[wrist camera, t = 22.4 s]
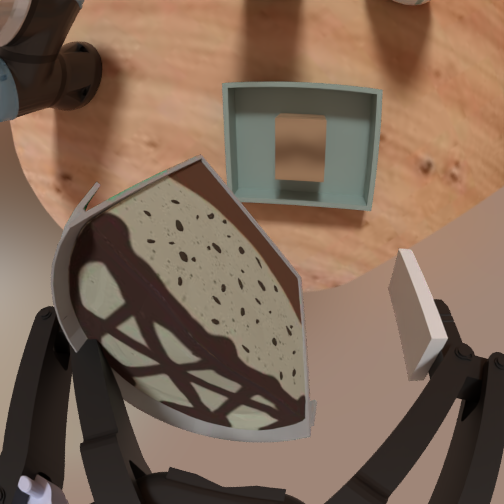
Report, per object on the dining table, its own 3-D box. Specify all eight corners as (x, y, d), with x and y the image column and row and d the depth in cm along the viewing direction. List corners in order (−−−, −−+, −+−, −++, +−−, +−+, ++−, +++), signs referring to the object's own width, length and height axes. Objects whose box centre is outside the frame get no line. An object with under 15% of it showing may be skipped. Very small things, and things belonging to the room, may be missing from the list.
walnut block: (280, 113, 45) (274, 118, 38) (324, 115, 44) (326, 120, 37) (280, 165, 50) (275, 179, 43) (322, 167, 49) (323, 182, 42)
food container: (115, 198, 17) (5, 299, 9) (183, 133, 15) (54, 210, 6) (239, 328, 21) (210, 457, 13) (313, 293, 19) (316, 440, 10)
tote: (235, 191, 54) (228, 201, 50) (230, 83, 44) (222, 83, 40) (366, 199, 50) (371, 211, 46) (375, 89, 40) (382, 89, 36)
